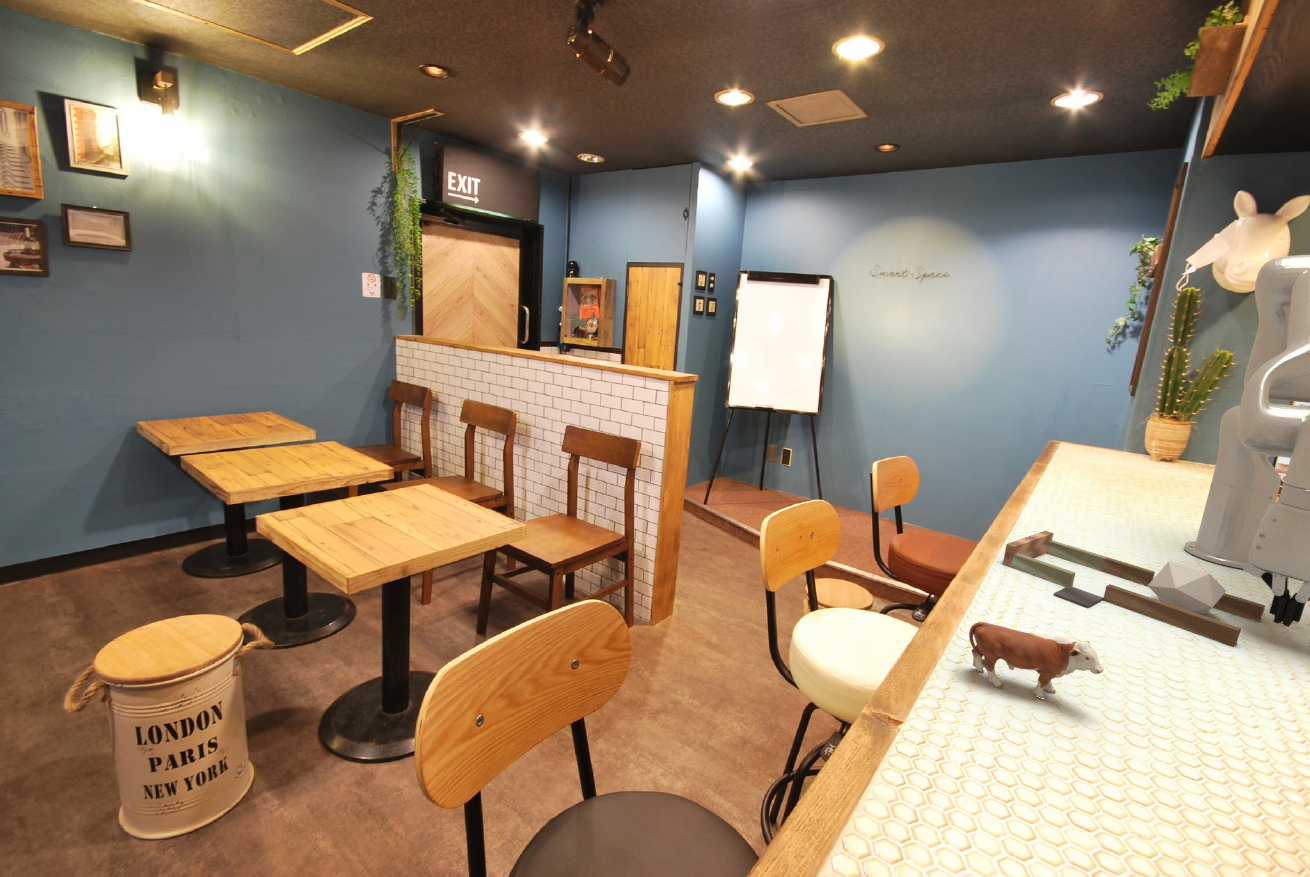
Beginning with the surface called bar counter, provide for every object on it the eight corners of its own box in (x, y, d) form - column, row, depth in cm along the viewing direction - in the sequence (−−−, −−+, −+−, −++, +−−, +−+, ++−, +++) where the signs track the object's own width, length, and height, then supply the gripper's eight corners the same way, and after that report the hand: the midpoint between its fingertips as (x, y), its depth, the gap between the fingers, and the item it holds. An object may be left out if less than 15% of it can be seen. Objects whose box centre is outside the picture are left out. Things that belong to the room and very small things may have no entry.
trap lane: (1054, 544, 122) (1058, 526, 122) (1270, 611, 97) (1276, 588, 96) (986, 570, 107) (990, 549, 106) (1222, 658, 81) (1229, 631, 80)
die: (1222, 633, 89) (1248, 580, 91) (1172, 600, 90) (1199, 548, 91) (1173, 625, 97) (1198, 576, 99) (1128, 595, 98) (1153, 547, 99)
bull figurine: (1093, 720, 66) (1109, 655, 64) (960, 677, 73) (972, 617, 71) (1090, 700, 70) (1105, 638, 68) (964, 661, 76) (974, 603, 75)
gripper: (1406, 514, 78) (1365, 640, 82) (1251, 485, 90) (1221, 595, 94) (1400, 522, 74) (1357, 654, 77) (1238, 490, 86) (1207, 606, 89)
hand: (1282, 622), depth 85 cm, fingers closed
